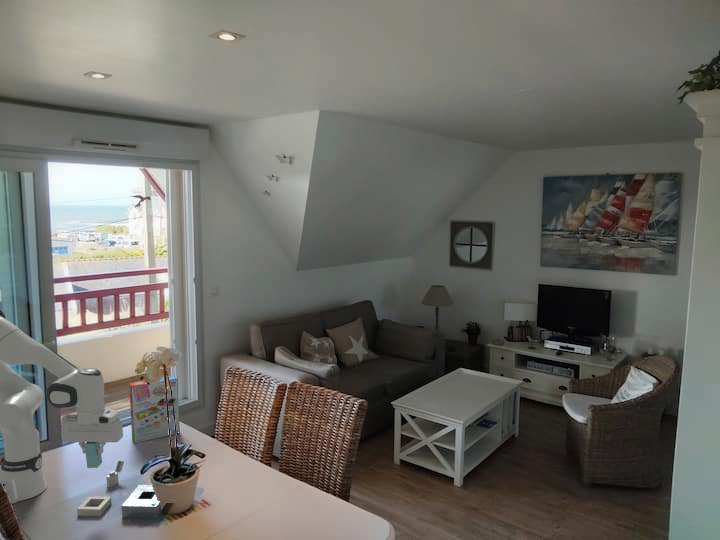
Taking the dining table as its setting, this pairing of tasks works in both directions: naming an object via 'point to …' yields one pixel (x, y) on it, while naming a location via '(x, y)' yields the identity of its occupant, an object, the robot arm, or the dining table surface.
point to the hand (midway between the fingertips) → (93, 452)
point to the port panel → (142, 504)
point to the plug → (92, 455)
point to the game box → (153, 409)
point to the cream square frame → (94, 511)
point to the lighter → (114, 475)
